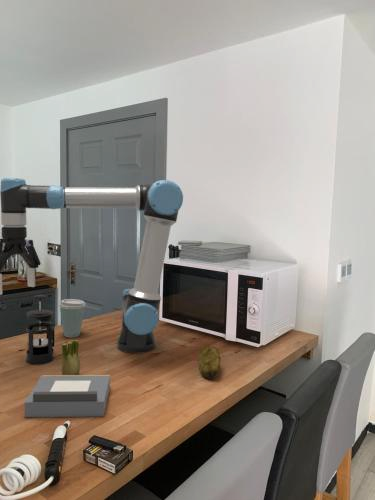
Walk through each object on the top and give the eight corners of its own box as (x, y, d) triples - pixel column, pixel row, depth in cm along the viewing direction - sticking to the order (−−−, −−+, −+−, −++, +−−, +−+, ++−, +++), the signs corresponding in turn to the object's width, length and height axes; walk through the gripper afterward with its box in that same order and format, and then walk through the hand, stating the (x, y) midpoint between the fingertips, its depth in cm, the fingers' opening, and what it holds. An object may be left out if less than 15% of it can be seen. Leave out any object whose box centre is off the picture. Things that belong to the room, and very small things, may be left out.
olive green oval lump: (191, 378, 129) (192, 354, 128) (202, 364, 141) (203, 342, 140) (216, 382, 127) (217, 358, 126) (224, 367, 139) (226, 345, 138)
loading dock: (109, 387, 120) (110, 368, 120) (103, 416, 104) (104, 394, 103) (41, 387, 118) (41, 368, 118) (24, 417, 102) (24, 395, 101)
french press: (39, 367, 133) (39, 300, 130) (18, 362, 136) (17, 296, 134) (63, 355, 144) (63, 293, 141) (42, 351, 147) (42, 290, 145)
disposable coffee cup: (74, 329, 174) (74, 296, 172) (91, 335, 168) (91, 300, 166) (53, 335, 165) (53, 300, 164) (70, 341, 159) (70, 304, 157)
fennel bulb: (62, 381, 123) (62, 344, 122) (60, 375, 128) (60, 339, 126) (81, 379, 125) (81, 342, 124) (78, 373, 130) (79, 337, 129)
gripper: (34, 224, 142) (35, 282, 145) (-29, 227, 120) (-26, 296, 122) (50, 225, 139) (51, 284, 142) (-11, 228, 117) (-9, 299, 119)
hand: (15, 290), depth 132 cm, fingers open, 13 cm apart
